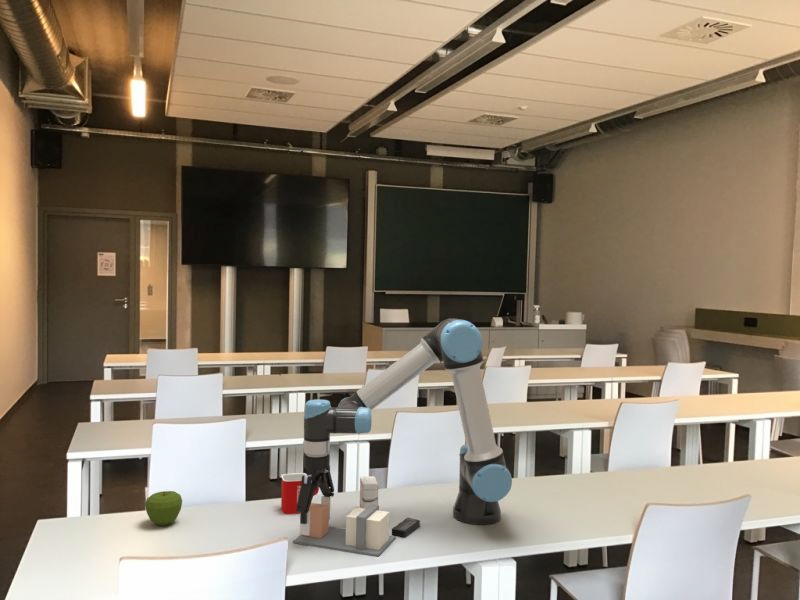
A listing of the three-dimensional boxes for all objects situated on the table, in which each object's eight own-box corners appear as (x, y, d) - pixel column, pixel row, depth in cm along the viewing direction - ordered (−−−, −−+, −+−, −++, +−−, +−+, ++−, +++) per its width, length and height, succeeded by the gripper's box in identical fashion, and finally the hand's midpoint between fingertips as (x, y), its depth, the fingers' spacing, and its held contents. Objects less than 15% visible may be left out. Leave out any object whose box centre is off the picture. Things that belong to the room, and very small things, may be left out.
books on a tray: (395, 538, 199) (396, 505, 199) (378, 556, 186) (379, 521, 186) (314, 526, 208) (314, 494, 207) (292, 542, 194) (293, 509, 194)
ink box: (378, 521, 213) (379, 483, 213) (362, 521, 212) (363, 484, 212) (374, 511, 222) (374, 475, 221) (358, 512, 221) (359, 476, 220)
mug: (283, 515, 217) (283, 481, 216) (279, 506, 225) (280, 474, 224) (320, 511, 220) (321, 479, 220) (316, 503, 228) (316, 471, 228)
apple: (172, 515, 215) (172, 483, 215) (188, 524, 207) (189, 491, 207) (138, 523, 207) (138, 490, 207) (154, 533, 200) (154, 499, 199)
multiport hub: (391, 536, 202) (391, 528, 202) (407, 524, 211) (407, 517, 211) (404, 539, 200) (404, 531, 200) (420, 527, 210) (420, 519, 209)
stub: (328, 532, 201) (328, 505, 201) (321, 538, 196) (321, 510, 196) (310, 529, 203) (310, 502, 203) (302, 535, 198) (302, 507, 198)
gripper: (323, 442, 212) (322, 510, 213) (284, 463, 188) (283, 539, 189) (345, 445, 210) (344, 513, 210) (308, 466, 186) (307, 543, 187)
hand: (315, 526), depth 200 cm, fingers open, 13 cm apart
